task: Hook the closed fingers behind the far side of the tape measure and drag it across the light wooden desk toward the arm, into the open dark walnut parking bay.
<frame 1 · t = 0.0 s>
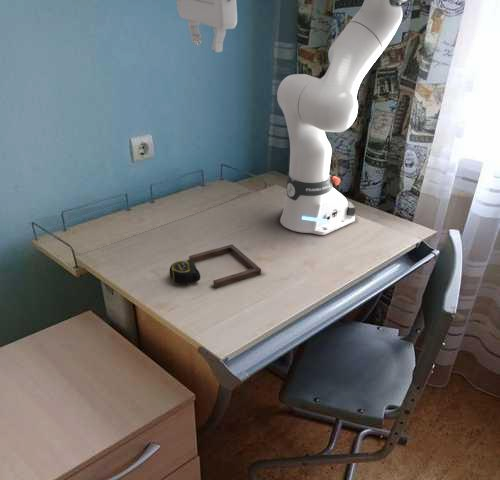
hand: (206, 47, 109), 48 cm above the table, tool pointing down, fingers open, 8 cm apart
bay: (222, 268, 129), on the table
tape measure: (186, 279, 125), on the table
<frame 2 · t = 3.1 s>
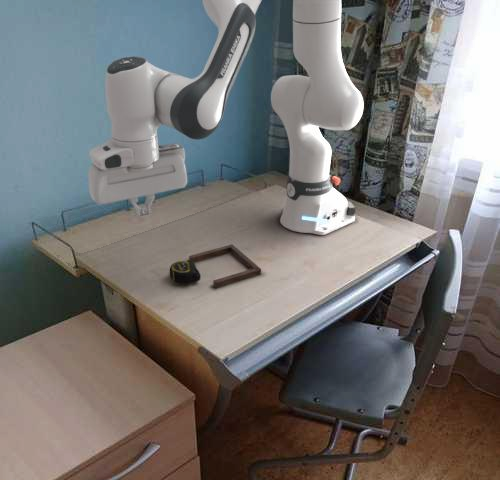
hand: (143, 214, 109), 19 cm above the table, tool pointing down, fingers closed
nothing on the table moved.
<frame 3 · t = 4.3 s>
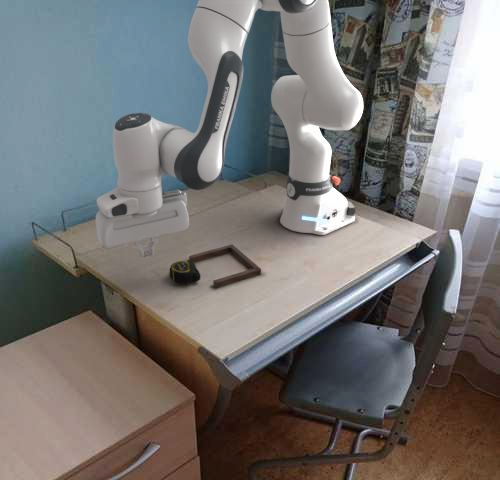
hand: (146, 255, 115), 9 cm above the table, tool pointing down, fingers closed
nothing on the table moved.
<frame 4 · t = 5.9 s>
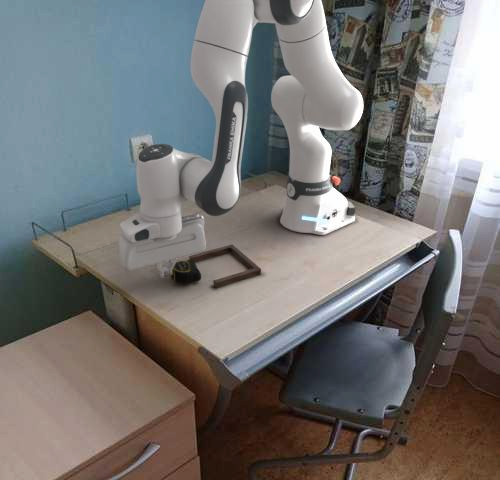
hand: (165, 275, 121), 3 cm above the table, tool pointing down, fingers closed
tape measure: (187, 279, 125), on the table, touching gripper
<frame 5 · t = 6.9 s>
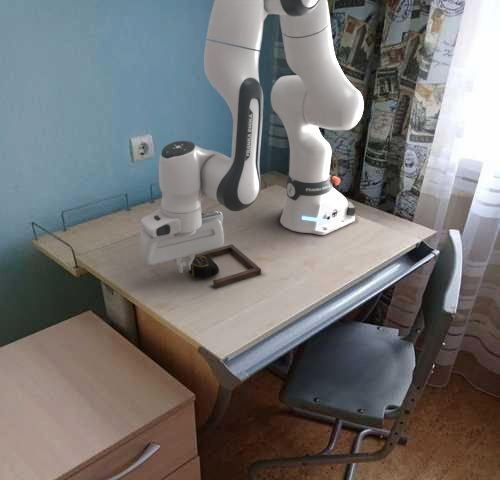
hand: (184, 270, 123), 2 cm above the table, tool pointing down, fingers closed
tape measure: (204, 273, 127), on the table, touching gripper
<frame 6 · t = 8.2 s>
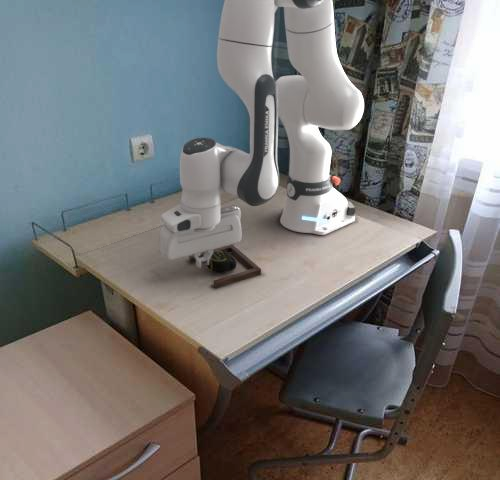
hand: (202, 265, 125), 2 cm above the table, tool pointing down, fingers closed
tape measure: (221, 268, 129), on the table, touching gripper
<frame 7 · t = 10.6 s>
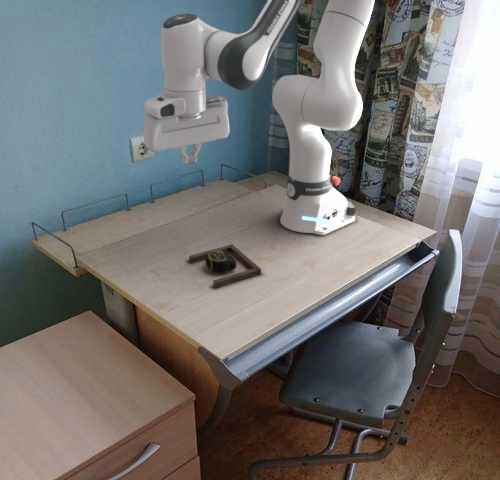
hand: (190, 162, 120), 24 cm above the table, tool pointing down, fingers closed
tape measure: (221, 268, 129), on the table
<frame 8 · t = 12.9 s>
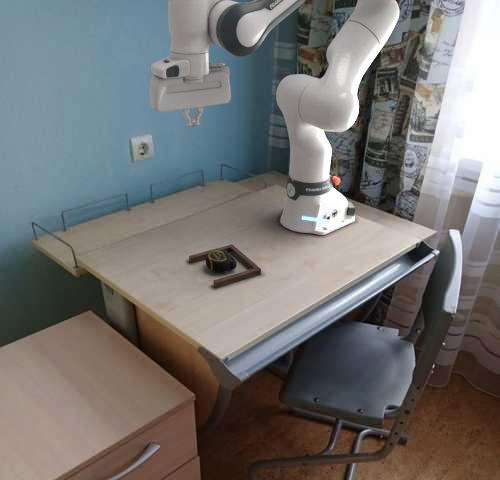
hand: (192, 125, 127), 29 cm above the table, tool pointing down, fingers closed
nothing on the table moved.
at the end: tape measure inside the target area (0.8 cm from its centre), on the table; tape measure moved 9.9 cm from its start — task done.
